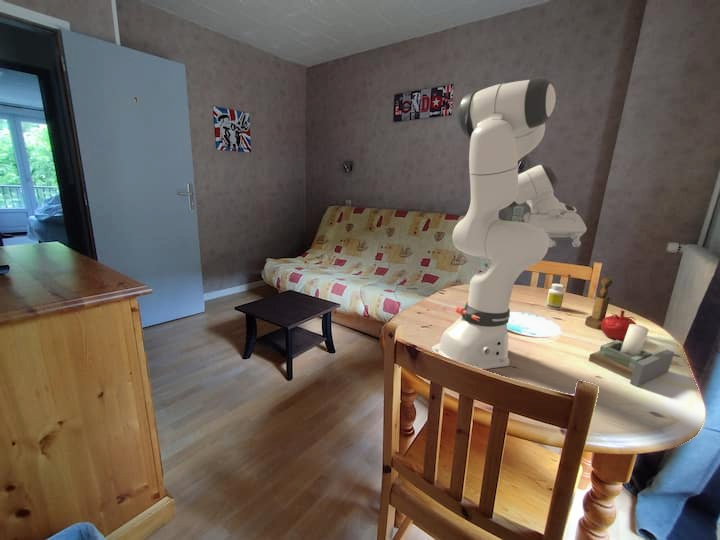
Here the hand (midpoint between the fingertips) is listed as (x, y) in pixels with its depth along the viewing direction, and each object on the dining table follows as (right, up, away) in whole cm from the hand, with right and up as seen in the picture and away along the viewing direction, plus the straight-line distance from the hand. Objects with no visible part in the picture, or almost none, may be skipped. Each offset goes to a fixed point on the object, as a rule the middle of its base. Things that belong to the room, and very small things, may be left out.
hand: (565, 246), depth 104 cm
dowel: (+7, -33, -16) cm, 37 cm away
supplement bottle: (+13, -23, +28) cm, 38 cm away
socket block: (+6, -35, -15) cm, 38 cm away
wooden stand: (+18, -28, +11) cm, 35 cm away
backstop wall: (+9, -36, -20) cm, 42 cm away
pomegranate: (+19, -30, +3) cm, 36 cm away
